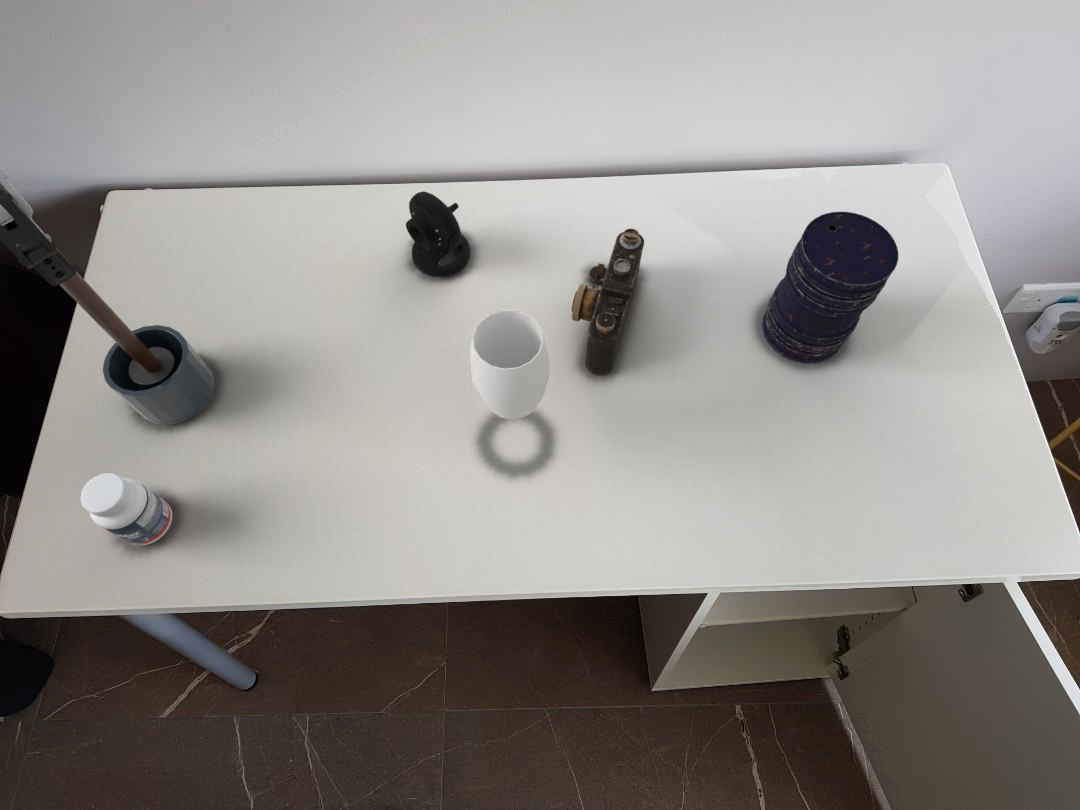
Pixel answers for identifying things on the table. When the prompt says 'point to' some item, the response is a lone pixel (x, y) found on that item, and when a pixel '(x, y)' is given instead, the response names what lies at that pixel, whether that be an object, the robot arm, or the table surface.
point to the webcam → (435, 235)
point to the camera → (609, 301)
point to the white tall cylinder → (509, 363)
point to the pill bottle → (126, 508)
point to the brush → (124, 337)
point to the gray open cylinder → (171, 397)
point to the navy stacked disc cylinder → (828, 285)
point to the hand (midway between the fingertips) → (41, 249)
